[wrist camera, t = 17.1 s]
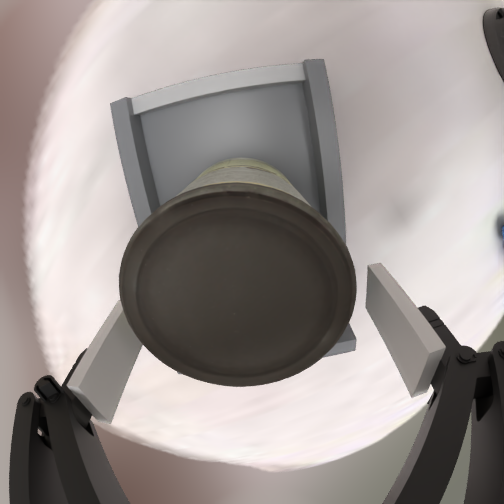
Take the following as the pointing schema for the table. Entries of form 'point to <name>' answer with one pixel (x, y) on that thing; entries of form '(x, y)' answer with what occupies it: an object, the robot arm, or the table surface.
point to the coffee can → (237, 278)
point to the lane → (235, 138)
